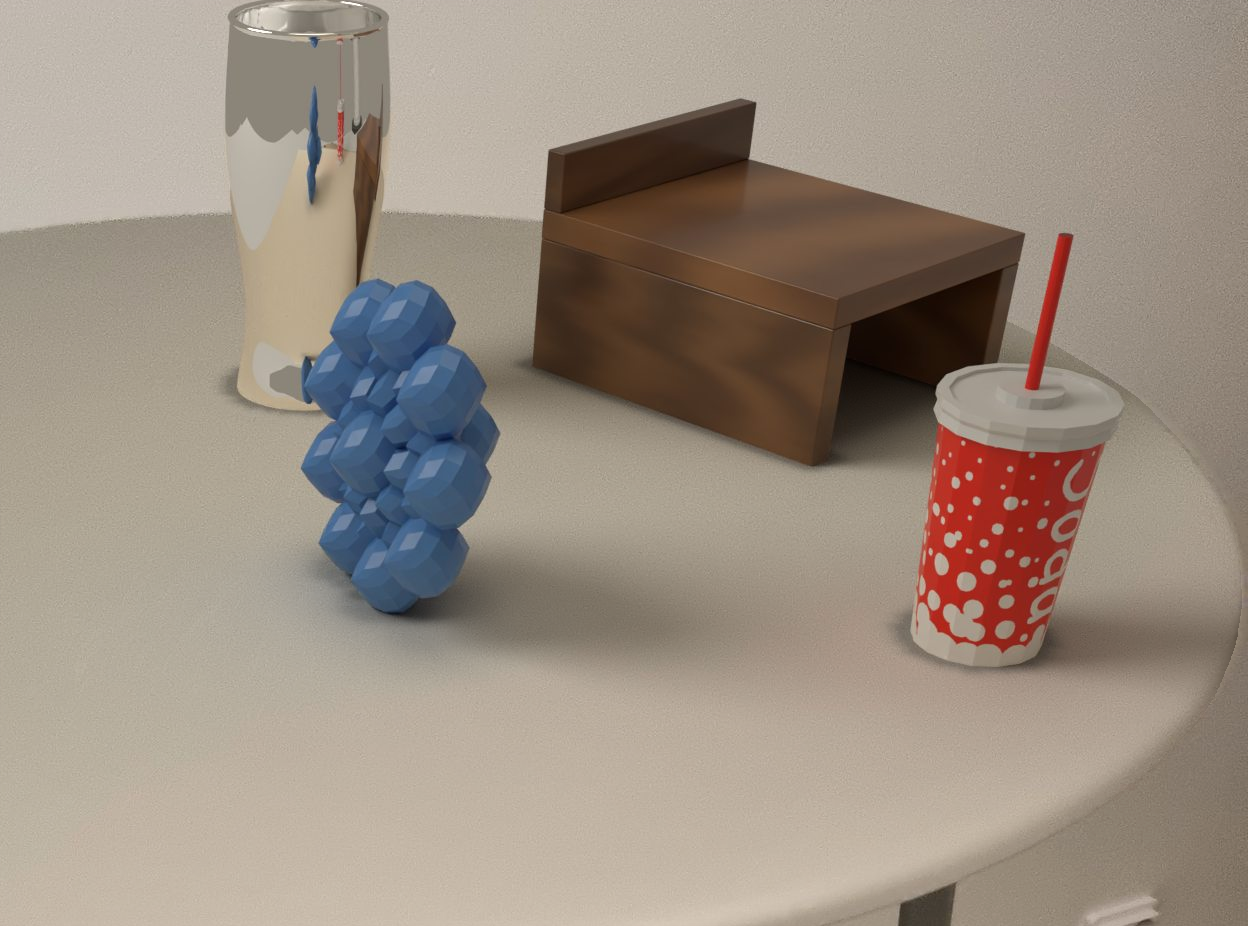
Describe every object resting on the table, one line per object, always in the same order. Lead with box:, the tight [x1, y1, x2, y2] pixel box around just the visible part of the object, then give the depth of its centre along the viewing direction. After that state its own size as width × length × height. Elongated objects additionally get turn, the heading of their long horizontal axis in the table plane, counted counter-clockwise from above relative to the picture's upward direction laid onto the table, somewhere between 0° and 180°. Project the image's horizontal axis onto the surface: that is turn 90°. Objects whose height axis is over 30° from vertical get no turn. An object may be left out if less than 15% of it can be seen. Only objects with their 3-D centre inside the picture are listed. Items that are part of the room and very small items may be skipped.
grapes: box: [300, 277, 501, 614], centre depth 77 cm, size 12×7×12 cm, turn 23°
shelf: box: [531, 97, 1026, 467], centre depth 96 cm, size 16×13×9 cm
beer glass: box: [223, 0, 392, 412], centre depth 93 cm, size 7×7×15 cm
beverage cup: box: [909, 232, 1126, 668], centre depth 74 cm, size 6×6×14 cm
